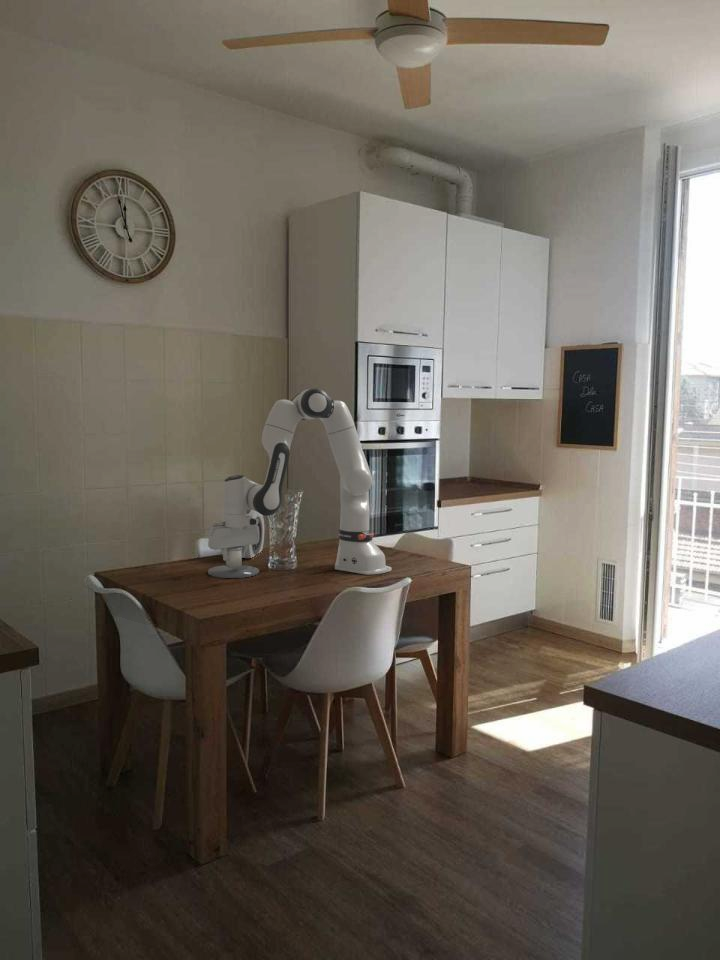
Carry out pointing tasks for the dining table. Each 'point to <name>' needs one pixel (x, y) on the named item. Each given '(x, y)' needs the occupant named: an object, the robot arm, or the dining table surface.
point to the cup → (234, 557)
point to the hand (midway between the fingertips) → (234, 559)
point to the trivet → (233, 571)
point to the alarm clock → (257, 548)
